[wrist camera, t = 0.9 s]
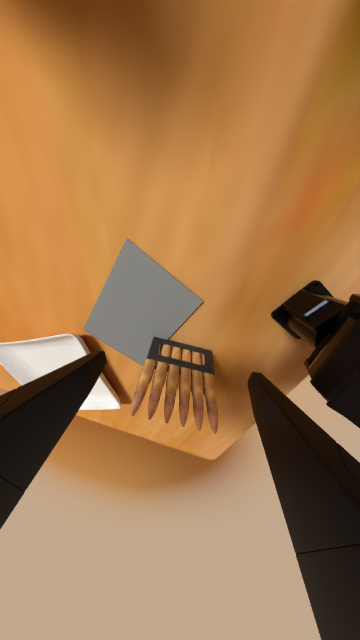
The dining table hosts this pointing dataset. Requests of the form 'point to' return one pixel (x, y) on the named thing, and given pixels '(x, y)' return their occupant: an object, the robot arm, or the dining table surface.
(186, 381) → the ammunition clip
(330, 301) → the robot arm
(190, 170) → the dining table surface
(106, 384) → the salad plate
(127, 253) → the mat
